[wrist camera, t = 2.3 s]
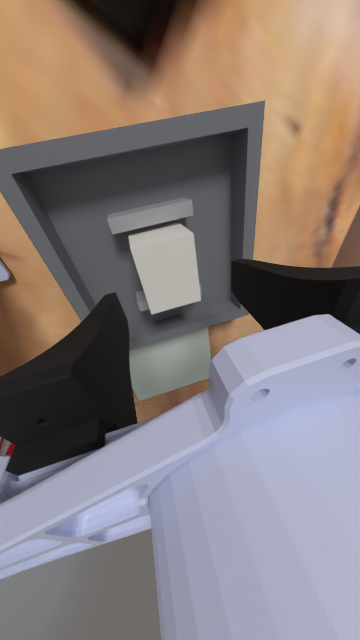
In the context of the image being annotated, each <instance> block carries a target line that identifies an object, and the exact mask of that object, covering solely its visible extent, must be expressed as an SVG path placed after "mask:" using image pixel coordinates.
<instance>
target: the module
mask: <svg viewBox="0 0 360 640" xmlns="http://www.w3.org/2000/svg"><path fill="white" fill-rule="evenodd" d="M128 237H129V244H130V249H131V252H132V256H133V259H134V262H135V265H136V268H137V271H138V274H139V277H140V280H141V284H142V287H143V290H144V293H145V296H146V299H147V302H148V305H149V308H150V311H151V315H152V314H155V313H159V312H162V311H166V310H169V309H173V308H176V307H180V306H183V305H187V304H190V303H194V302H197V301H201V295H200V286H199V277H198V268H197V259H196V250H195V241H194V233H192V232H191V231H190V230H188V229H187V228H186V227H184V226H183V225H181V224H180V223H179V222H177V221H176V220H172V221H168V222H164V223H160V224H156V225H151V226H147V227H143V228H139V229H135V230H130V231H128Z"/></svg>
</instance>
